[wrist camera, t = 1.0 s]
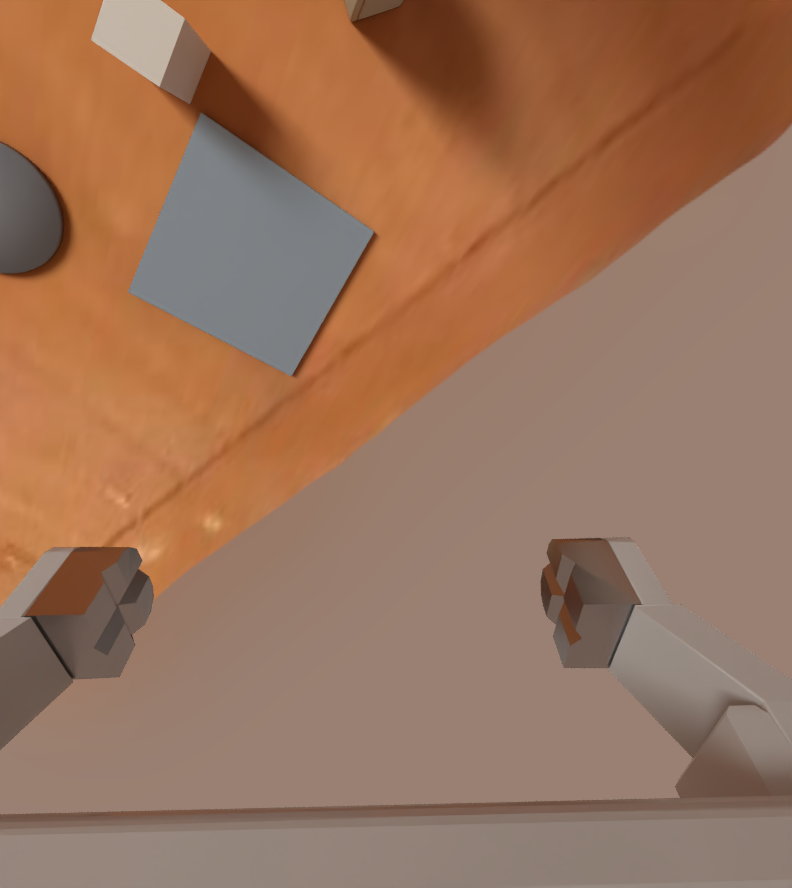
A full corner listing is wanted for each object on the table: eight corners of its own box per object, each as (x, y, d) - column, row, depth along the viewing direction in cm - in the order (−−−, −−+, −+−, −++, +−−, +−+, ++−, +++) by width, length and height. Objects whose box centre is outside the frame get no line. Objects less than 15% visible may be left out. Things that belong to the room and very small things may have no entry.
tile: (130, 290, 44) (128, 292, 43) (202, 113, 38) (201, 112, 38) (291, 374, 50) (291, 376, 49) (373, 230, 44) (374, 231, 44)
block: (137, 68, 36) (90, 39, 29) (157, 11, 35) (114, -35, 27) (190, 104, 38) (159, 86, 30) (211, 51, 37) (184, 18, 29)
